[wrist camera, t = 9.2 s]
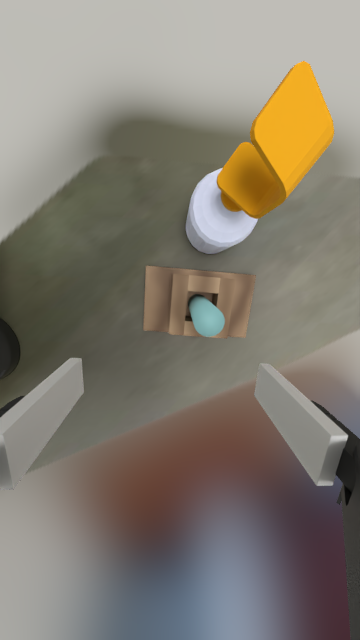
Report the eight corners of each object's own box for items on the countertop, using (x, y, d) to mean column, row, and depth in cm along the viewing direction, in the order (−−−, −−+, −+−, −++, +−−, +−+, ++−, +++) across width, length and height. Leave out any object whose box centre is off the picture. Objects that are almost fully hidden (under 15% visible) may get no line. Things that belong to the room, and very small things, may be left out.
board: (144, 328, 38) (139, 337, 32) (146, 265, 35) (141, 264, 30) (243, 335, 39) (254, 345, 33) (253, 275, 36) (267, 275, 30)
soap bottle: (207, 186, 32) (298, -59, 9) (246, 222, 34) (418, 100, 10) (175, 231, 34) (176, 130, 10) (214, 264, 35) (295, 244, 12)
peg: (187, 312, 36) (192, 335, 23) (188, 293, 35) (195, 305, 22) (206, 313, 36) (222, 337, 23) (208, 294, 35) (226, 308, 22)
